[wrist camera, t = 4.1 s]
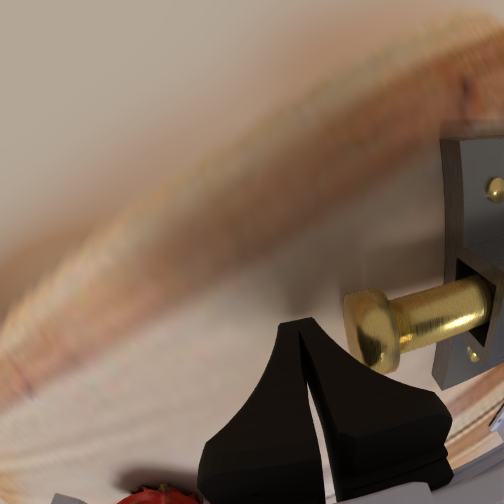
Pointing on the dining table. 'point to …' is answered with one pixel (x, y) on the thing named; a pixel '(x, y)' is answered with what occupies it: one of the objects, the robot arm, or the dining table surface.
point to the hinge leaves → (473, 250)
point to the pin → (413, 319)
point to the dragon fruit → (161, 496)
